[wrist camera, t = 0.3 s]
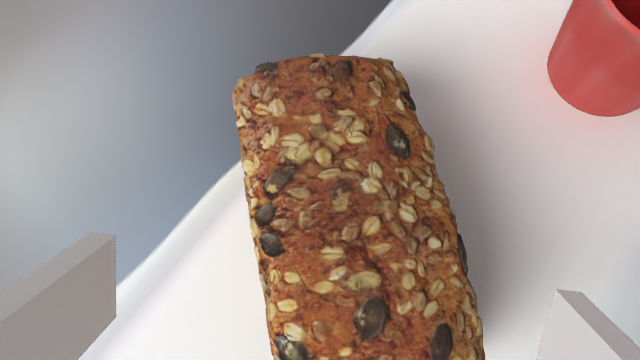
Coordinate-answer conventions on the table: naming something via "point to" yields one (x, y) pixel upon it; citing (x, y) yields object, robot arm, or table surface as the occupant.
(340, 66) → the bread
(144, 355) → the table surface
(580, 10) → the flower pot
